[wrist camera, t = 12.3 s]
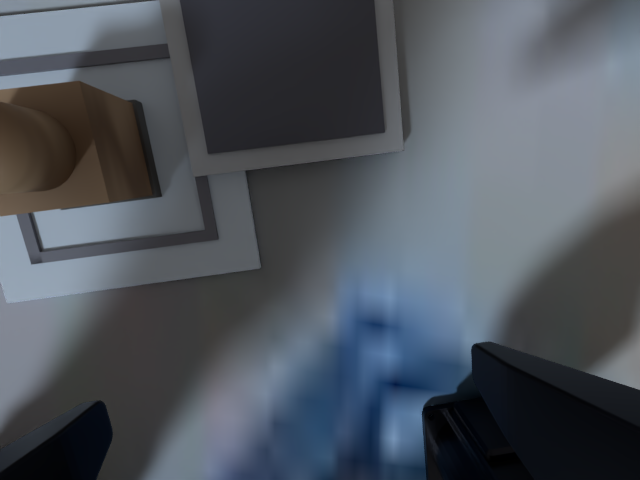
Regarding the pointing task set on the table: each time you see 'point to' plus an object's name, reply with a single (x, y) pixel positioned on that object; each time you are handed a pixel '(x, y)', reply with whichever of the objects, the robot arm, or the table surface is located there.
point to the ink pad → (284, 81)
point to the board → (168, 151)
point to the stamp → (72, 149)
